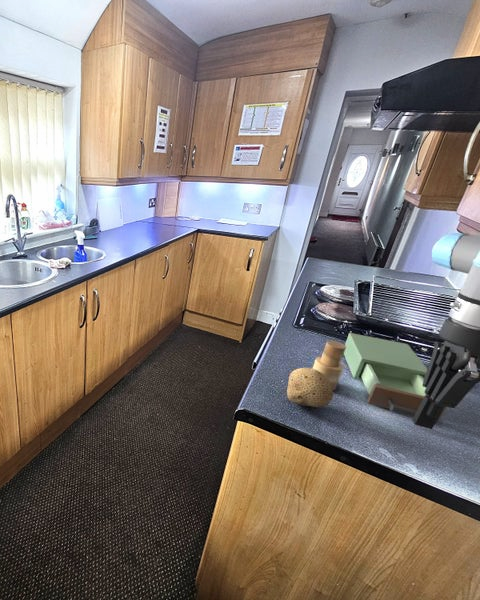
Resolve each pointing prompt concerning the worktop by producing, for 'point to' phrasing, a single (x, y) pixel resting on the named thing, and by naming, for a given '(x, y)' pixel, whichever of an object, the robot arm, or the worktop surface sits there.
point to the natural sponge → (309, 388)
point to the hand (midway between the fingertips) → (421, 424)
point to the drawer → (394, 388)
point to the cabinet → (380, 355)
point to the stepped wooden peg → (331, 362)
